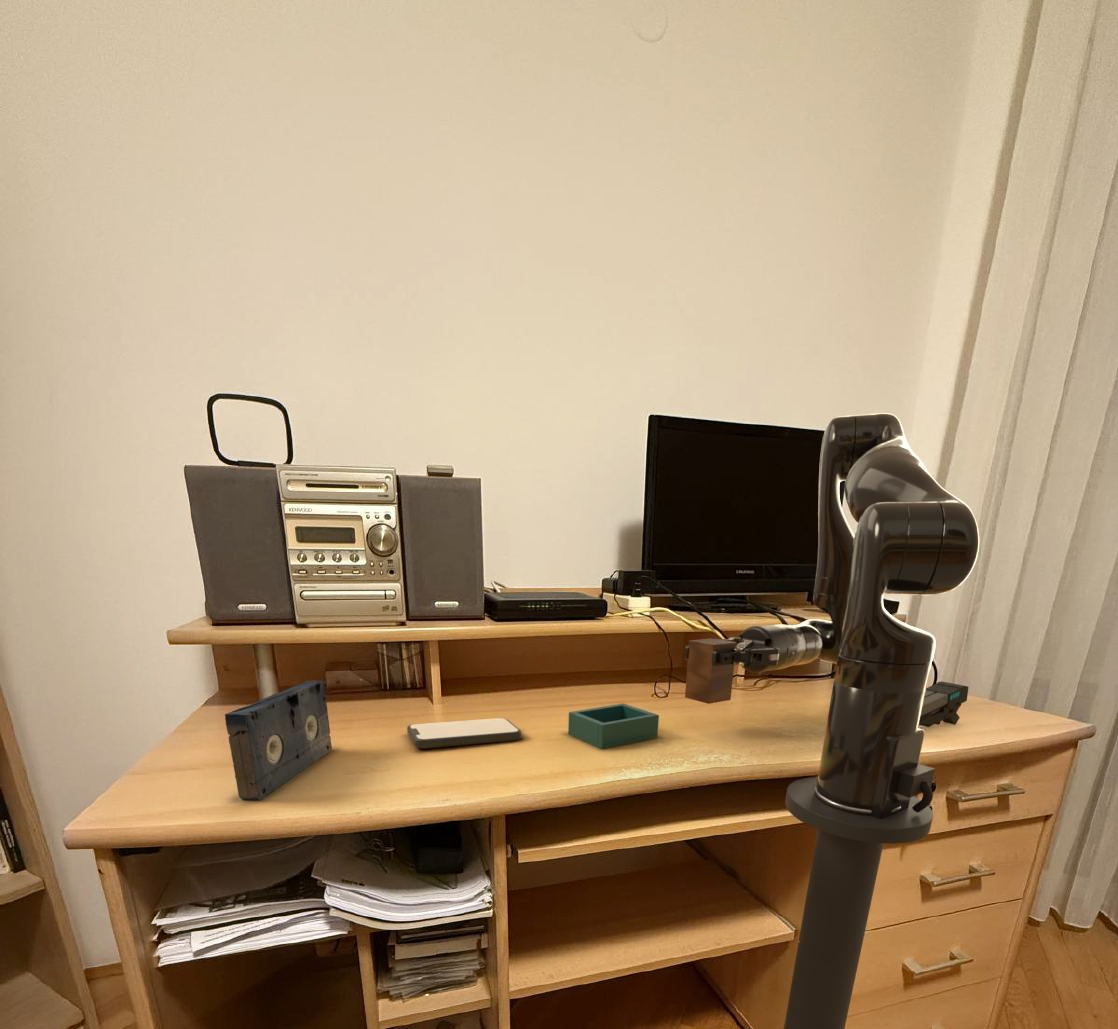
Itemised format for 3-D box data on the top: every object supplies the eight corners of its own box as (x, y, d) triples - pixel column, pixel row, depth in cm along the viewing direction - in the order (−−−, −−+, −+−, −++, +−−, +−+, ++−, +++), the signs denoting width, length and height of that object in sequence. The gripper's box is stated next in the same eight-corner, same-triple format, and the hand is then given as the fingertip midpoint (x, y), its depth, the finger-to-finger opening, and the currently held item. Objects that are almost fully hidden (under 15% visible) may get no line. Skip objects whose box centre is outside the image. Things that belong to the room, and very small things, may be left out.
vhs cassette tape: (316, 748, 83) (307, 679, 80) (336, 749, 83) (328, 680, 80) (233, 800, 66) (219, 714, 63) (258, 801, 66) (245, 715, 63)
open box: (657, 737, 91) (659, 714, 90) (601, 749, 85) (602, 725, 84) (622, 724, 98) (623, 703, 97) (568, 734, 92) (568, 712, 91)
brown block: (730, 700, 92) (736, 642, 89) (708, 704, 89) (714, 644, 87) (706, 694, 96) (711, 638, 93) (684, 697, 93) (689, 640, 90)
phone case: (505, 726, 96) (406, 734, 90) (505, 716, 96) (405, 724, 90) (523, 742, 89) (416, 751, 83) (524, 731, 88) (416, 740, 82)
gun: (968, 722, 101) (970, 669, 96) (893, 776, 94) (891, 722, 90) (942, 716, 104) (942, 665, 100) (867, 767, 98) (864, 715, 93)
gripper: (738, 620, 103) (667, 625, 93) (812, 629, 91) (740, 636, 82) (734, 663, 105) (664, 672, 96) (805, 677, 94) (734, 688, 84)
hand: (700, 655), depth 89 cm, fingers closed on brown block, 5 cm apart
